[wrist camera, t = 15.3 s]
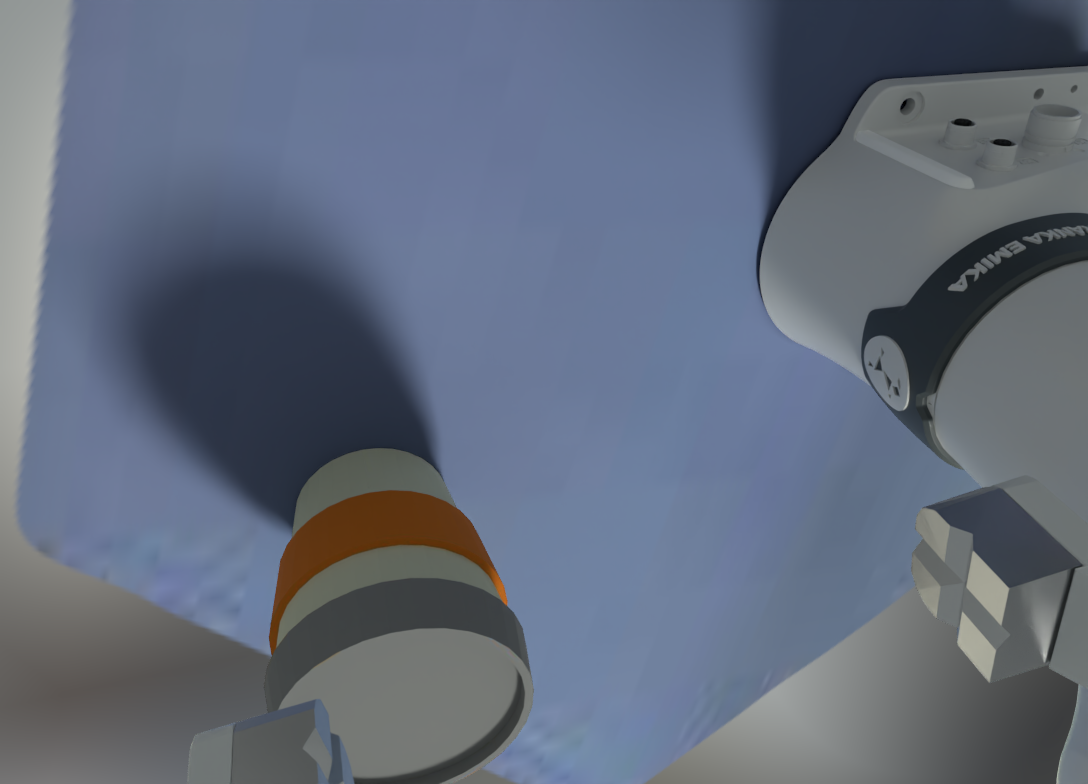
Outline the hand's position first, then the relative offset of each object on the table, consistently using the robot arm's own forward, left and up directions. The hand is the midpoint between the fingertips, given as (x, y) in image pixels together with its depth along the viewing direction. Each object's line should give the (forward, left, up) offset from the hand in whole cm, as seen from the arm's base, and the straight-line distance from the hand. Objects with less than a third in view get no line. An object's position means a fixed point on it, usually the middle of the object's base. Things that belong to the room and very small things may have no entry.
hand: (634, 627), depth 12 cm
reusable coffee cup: (+7, +26, -34) cm, 43 cm away
